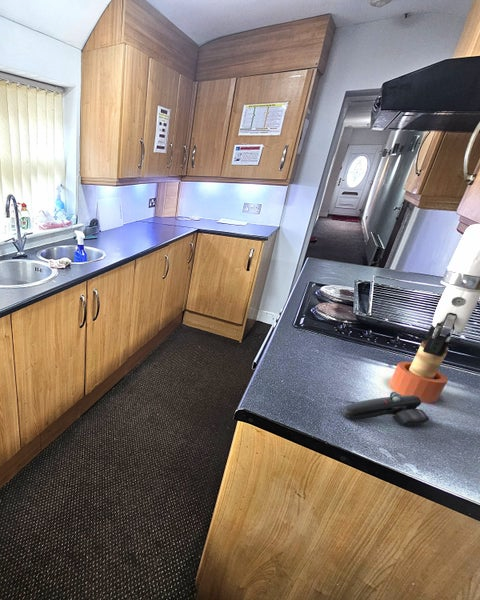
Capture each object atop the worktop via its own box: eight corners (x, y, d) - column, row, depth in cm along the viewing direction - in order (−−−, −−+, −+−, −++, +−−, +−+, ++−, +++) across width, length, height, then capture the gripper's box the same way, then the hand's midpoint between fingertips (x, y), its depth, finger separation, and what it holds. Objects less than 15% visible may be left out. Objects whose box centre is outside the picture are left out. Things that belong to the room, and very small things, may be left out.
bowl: (423, 387, 87) (434, 365, 84) (444, 409, 79) (457, 385, 77) (381, 380, 90) (391, 358, 87) (398, 400, 82) (409, 377, 80)
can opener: (402, 405, 80) (411, 387, 77) (430, 427, 73) (441, 407, 71) (330, 407, 79) (337, 388, 77) (353, 429, 73) (361, 409, 71)
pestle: (418, 389, 86) (441, 342, 80) (428, 399, 82) (453, 351, 76) (396, 384, 87) (418, 339, 82) (405, 395, 83) (428, 347, 78)
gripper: (495, 294, 65) (455, 366, 71) (490, 277, 76) (455, 341, 82) (442, 284, 70) (408, 352, 76) (444, 269, 81) (414, 331, 87)
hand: (432, 347), depth 79 cm, fingers open, 9 cm apart
